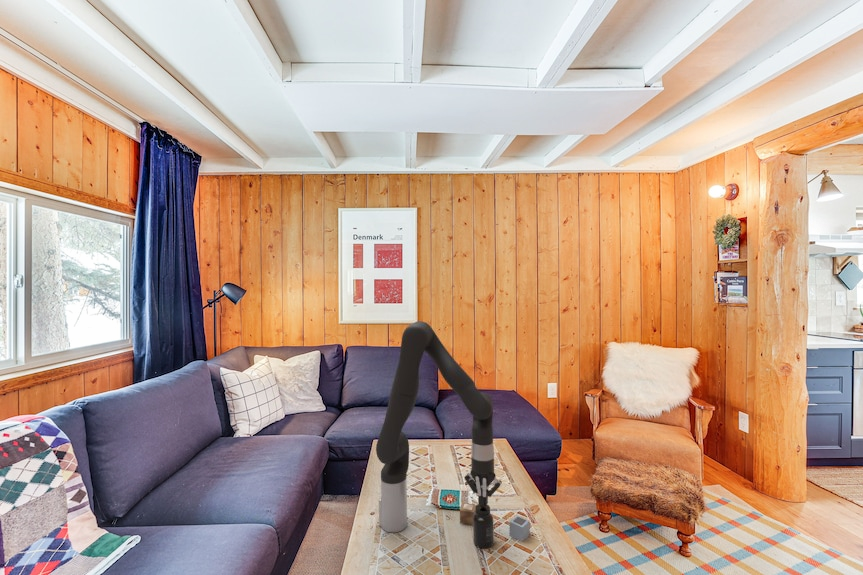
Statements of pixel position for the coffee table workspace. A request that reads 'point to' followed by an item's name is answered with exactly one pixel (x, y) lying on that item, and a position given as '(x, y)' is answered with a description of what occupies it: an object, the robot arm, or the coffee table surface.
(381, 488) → the robot arm
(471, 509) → the walnut block
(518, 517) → the slate-blue block
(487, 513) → the supplement bottle
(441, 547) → the coffee table surface
